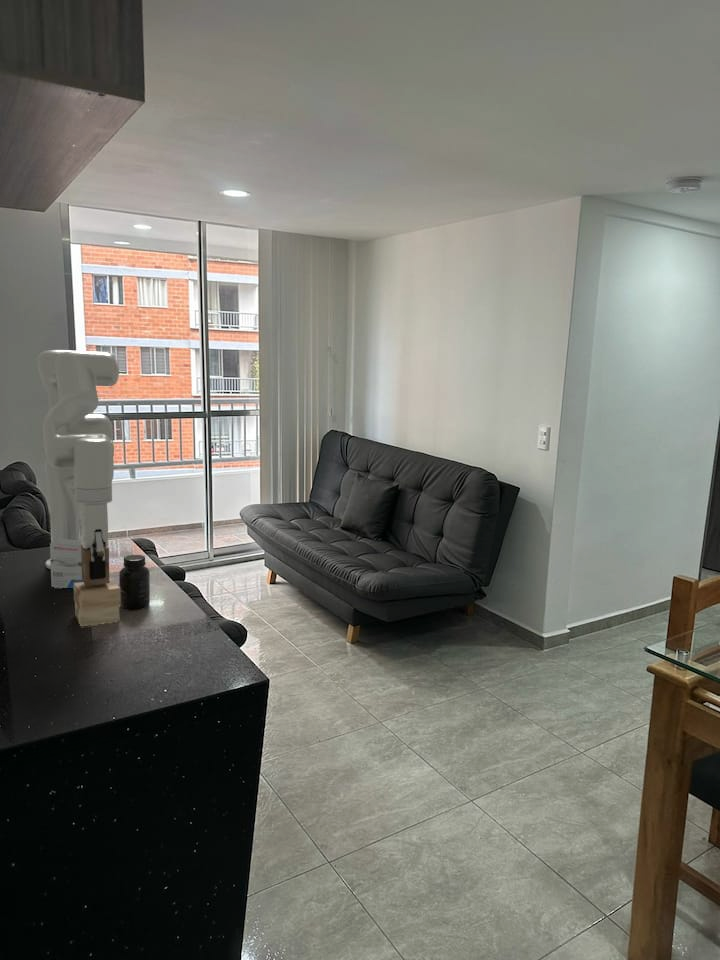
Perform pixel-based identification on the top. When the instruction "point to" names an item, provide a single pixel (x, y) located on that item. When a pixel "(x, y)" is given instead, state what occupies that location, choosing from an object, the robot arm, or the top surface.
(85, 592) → the upper maple slab
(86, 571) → the walnut block
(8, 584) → the top surface
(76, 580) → the ink box
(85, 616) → the lower maple slab
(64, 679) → the top surface
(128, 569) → the supplement bottle
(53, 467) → the robot arm
